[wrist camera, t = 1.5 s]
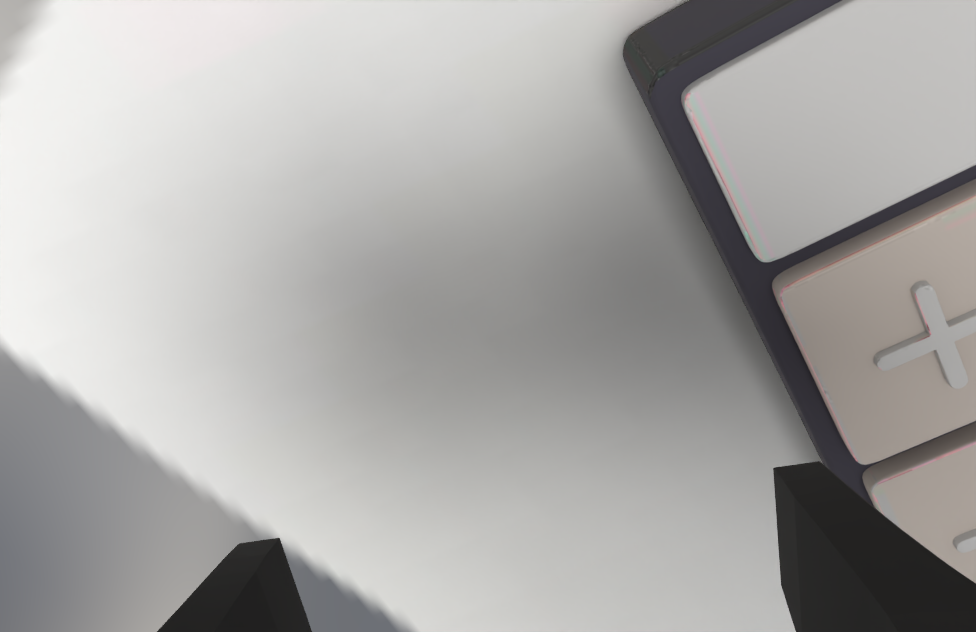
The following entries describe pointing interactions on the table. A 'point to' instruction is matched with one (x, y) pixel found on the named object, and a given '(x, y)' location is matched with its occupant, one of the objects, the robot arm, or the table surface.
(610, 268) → the table surface
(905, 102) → the button box
